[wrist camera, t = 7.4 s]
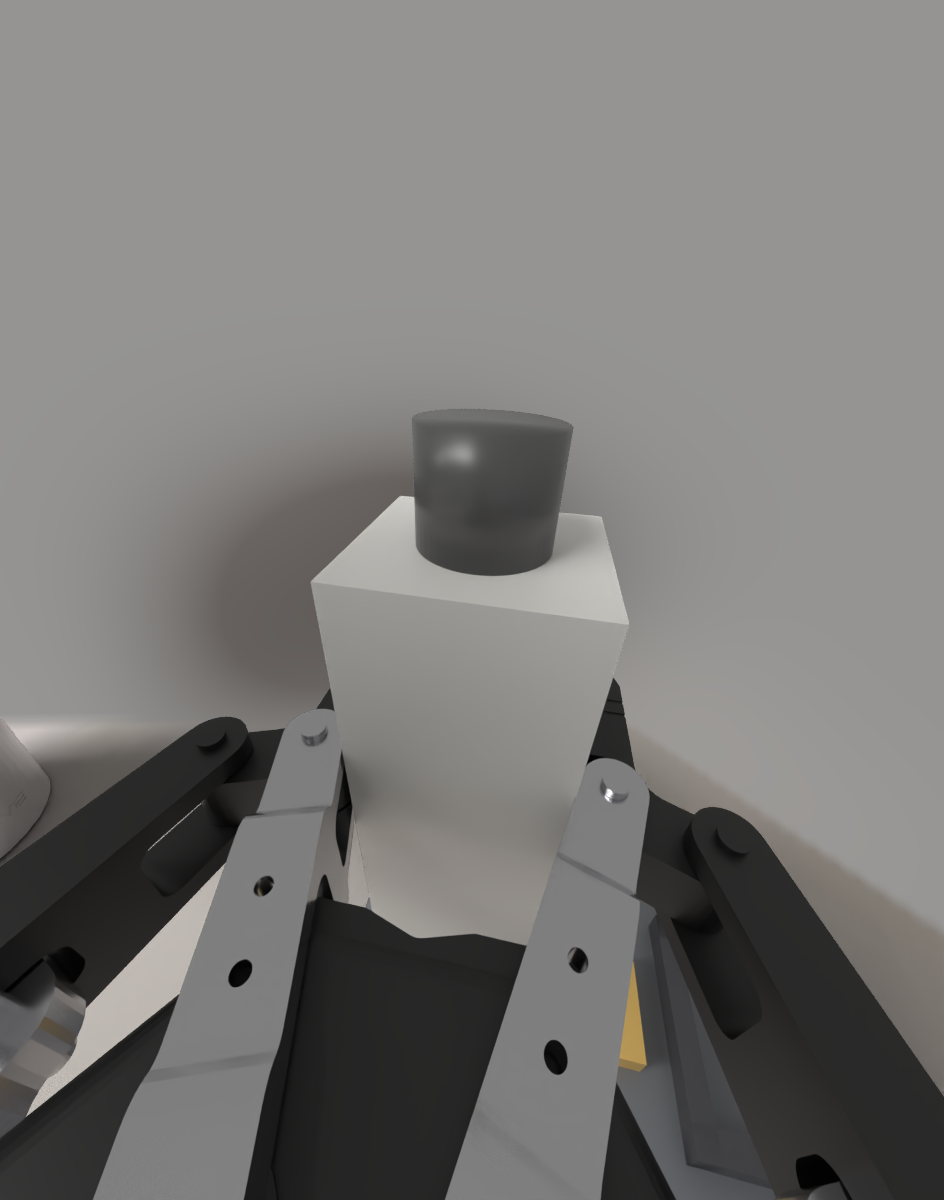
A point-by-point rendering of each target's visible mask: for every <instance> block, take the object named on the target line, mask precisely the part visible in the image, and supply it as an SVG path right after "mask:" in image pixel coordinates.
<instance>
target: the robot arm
mask: <svg viewBox="0 0 944 1200" xmlns="http://www.w3.org/2000/svg"><path fill="white" fill-rule="evenodd" d="M50 790H51V787H50V780H49V778H48V776H47V775H46V773H45V772H44V771H43V769H42V768H41V767H40V766H39V764H38V763H37V762H36V761H35V759H34V758H33V757H32V756H31V754H30V753H29V752H28V751H27V749H26V748H25V747H24V746H23V744H22V743H21V742H20V741H19V739H18V738H17V737H16V736H15V734H14V733H13V731H12V730H11V729H10V728H9V726H8V725H7V724H6V723H5V721H4V720H3V719H2V718H1V716H0V858H1V857H3V856H4V855H5V854H6V853H7V852H9V851H10V850H11V849H12V848H13V847H14V846H15V845H16V844H17V843H18V842H19V841H20V840H21V839H22V838H23V837H24V836H25V835H26V834H27V832H28V831H29V830H30V829H31V827H32V826H33V825H34V823H35V822H36V821H37V819H38V818H39V817H40V815H41V813H42V811H43V809H44V808H45V806H46V804H47V802H48V798H49V794H50ZM200 803H201V805H200V806H199V807H197V808H196V809H195V810H194V811H193V812H192V813H191V814H189V815H188V816H187V817H186V818H185V819H184V820H183V821H182V822H180V823H179V824H178V825H177V826H176V827H175V828H174V829H172V830H171V831H170V832H169V833H168V834H167V835H166V836H164V837H163V838H162V839H161V840H160V841H159V842H158V843H157V844H155V845H154V846H153V847H152V848H151V849H150V850H149V851H148V849H149V848H150V847H151V846H152V845H153V844H154V843H155V842H156V841H158V840H159V839H160V838H161V837H162V836H163V835H164V834H166V833H167V832H168V831H169V830H170V829H171V828H172V827H173V826H175V825H176V824H177V823H178V822H179V821H180V820H181V819H183V818H184V817H185V816H186V815H187V814H188V813H189V812H191V811H192V810H193V809H194V808H195V807H196V806H197V805H199V804H200ZM354 821H355V817H354V812H353V806H352V801H351V796H350V790H349V785H348V780H347V774H346V769H345V763H344V758H343V753H342V747H341V742H340V737H339V731H338V726H337V721H336V715H335V710H334V705H333V699H332V694H331V689H329V691H328V692H327V694H326V695H325V697H324V698H323V700H322V701H321V703H320V704H319V706H318V707H317V709H315V710H311V711H307V712H305V713H302V714H300V715H299V716H297V717H296V718H294V719H293V720H292V721H291V722H290V723H289V724H288V725H287V727H286V728H284V729H278V730H268V731H259V732H249V733H248V731H247V728H246V725H245V724H244V723H243V722H242V721H241V720H239V719H237V718H233V717H220V718H215V719H211V720H208V721H206V722H203V723H201V724H199V725H198V726H196V727H194V728H193V729H192V730H190V731H189V732H187V733H186V734H185V735H183V736H182V737H180V738H179V739H178V740H176V741H175V742H173V743H172V744H171V745H169V746H168V747H167V748H165V749H164V750H162V751H161V752H160V753H158V754H157V755H155V756H154V757H153V758H151V759H150V760H148V761H147V762H146V763H144V764H143V765H142V766H140V767H139V768H137V769H136V770H135V771H133V772H132V773H130V774H129V775H128V776H126V777H125V778H123V779H122V780H121V781H119V782H118V783H117V784H115V785H114V786H112V787H111V788H110V789H108V790H107V791H105V792H104V793H103V794H101V795H100V796H99V797H97V798H96V799H94V800H93V801H92V802H90V803H89V804H87V805H86V806H85V807H83V808H82V809H80V810H79V811H78V812H76V813H75V814H74V815H72V816H71V817H69V818H68V819H67V820H65V821H64V822H62V823H61V824H60V825H58V826H57V827H55V828H54V829H53V830H51V831H50V832H49V833H47V834H46V835H44V836H43V837H42V838H40V839H39V840H37V841H36V842H35V843H33V844H32V845H30V846H29V847H28V848H26V849H25V850H24V851H22V852H21V853H19V854H18V855H17V856H15V857H14V858H12V859H11V860H10V861H8V862H7V863H5V864H4V865H3V866H1V867H0V1200H676V1198H675V1196H674V1194H673V1192H672V1190H671V1188H670V1186H669V1184H668V1182H667V1180H666V1178H665V1176H664V1175H663V1173H662V1171H661V1169H660V1167H659V1165H658V1163H657V1161H656V1159H655V1157H654V1155H653V1153H652V1151H651V1149H650V1147H649V1145H648V1143H647V1141H646V1139H645V1137H644V1135H643V1133H642V1131H641V1129H640V1127H639V1125H638V1123H637V1121H636V1119H635V1117H634V1116H633V1114H632V1112H631V1110H630V1108H629V1106H628V1104H627V1102H626V1100H625V1098H624V1096H623V1094H622V1092H621V1090H620V1088H619V1086H618V1084H617V1082H616V1079H617V1072H618V1065H619V1058H620V1051H621V1043H622V1036H623V1029H624V1022H625V1014H626V1007H627V1000H628V993H629V986H630V978H631V971H632V964H633V957H634V949H635V942H636V935H637V928H638V920H639V911H640V900H642V901H643V902H645V903H647V904H648V905H650V906H652V907H654V908H655V911H656V913H657V915H658V918H659V920H660V922H661V925H662V927H663V930H664V932H665V934H666V937H667V939H668V941H669V944H670V946H671V949H672V951H673V953H674V956H675V958H676V961H677V963H678V965H679V968H680V970H681V972H682V975H683V977H684V980H685V982H686V984H687V987H688V989H689V992H690V994H691V996H692V999H693V1001H694V1003H695V1006H696V1008H697V1011H698V1013H699V1015H700V1018H701V1020H702V1023H703V1025H704V1027H705V1030H706V1032H707V1034H708V1037H709V1039H710V1042H711V1044H712V1046H713V1049H714V1051H715V1054H716V1056H717V1058H718V1061H719V1063H720V1065H721V1068H722V1070H723V1073H724V1075H725V1077H726V1080H727V1082H728V1084H729V1087H730V1089H731V1092H732V1094H733V1096H734V1099H735V1101H736V1104H737V1106H738V1108H739V1111H740V1113H741V1115H742V1118H743V1120H744V1123H745V1125H746V1127H747V1130H748V1132H749V1135H750V1137H751V1139H752V1142H753V1144H754V1146H755V1149H756V1151H757V1154H758V1156H759V1158H760V1161H761V1163H762V1166H763V1168H764V1170H765V1173H766V1175H767V1177H768V1180H769V1182H770V1185H771V1187H772V1189H773V1192H774V1194H775V1196H776V1198H775V1199H774V1200H944V1097H943V1095H942V1094H941V1092H940V1091H939V1089H938V1088H937V1087H936V1085H935V1084H934V1082H933V1081H932V1079H931V1078H930V1076H929V1075H928V1074H927V1072H926V1071H925V1069H924V1068H923V1066H922V1065H921V1064H920V1062H919V1061H918V1059H917V1058H916V1056H915V1055H914V1053H913V1052H912V1051H911V1049H910V1048H909V1046H908V1045H907V1043H906V1042H905V1041H904V1039H903V1038H902V1036H901V1035H900V1033H899V1032H898V1030H897V1029H896V1028H895V1026H894V1025H893V1023H892V1022H891V1020H890V1019H889V1018H888V1016H887V1015H886V1013H885V1012H884V1010H883V1009H882V1007H881V1006H880V1005H879V1003H878V1002H877V1000H876V999H875V997H874V996H873V995H872V993H871V992H870V990H869V989H868V987H867V986H866V985H865V983H864V982H863V980H862V979H861V977H860V976H859V974H858V973H857V972H856V970H855V969H854V967H853V966H852V964H851V963H850V962H849V960H848V959H847V957H846V956H845V954H844V953H843V951H842V950H841V949H840V947H839V946H838V944H837V943H836V941H835V940H834V939H833V937H832V936H831V934H830V933H829V931H828V930H827V928H826V927H825V926H824V924H823V923H822V921H821V920H820V918H819V917H818V916H817V914H816V913H815V911H814V910H813V908H812V907H811V906H810V904H809V903H808V901H807V900H806V898H805V897H804V895H803V894H802V893H801V891H800V890H799V888H798V887H797V885H796V884H795V883H794V881H793V880H792V878H791V877H790V875H789V874H788V872H787V871H786V870H785V868H784V867H783V865H782V864H781V862H780V861H779V860H778V858H777V857H776V855H775V854H774V852H773V851H772V849H771V848H770V847H769V845H768V844H767V842H766V841H765V839H764V838H763V837H762V835H761V834H760V833H759V832H758V831H757V830H756V829H755V828H754V827H753V826H752V825H751V824H750V823H749V822H748V821H746V820H745V819H743V818H742V817H740V816H739V815H737V814H735V813H733V812H731V811H728V810H725V809H722V808H717V807H708V808H704V809H701V810H699V811H698V812H697V813H696V814H695V815H694V814H692V813H689V812H687V811H685V810H683V809H681V808H679V807H677V806H675V805H673V804H670V803H668V802H666V801H665V800H663V799H661V798H659V797H658V796H657V795H655V794H654V793H653V792H651V791H650V790H649V789H648V788H647V785H646V783H645V781H644V780H643V778H642V777H641V776H640V775H639V774H638V773H637V772H636V770H635V767H634V763H633V758H632V752H631V747H630V741H629V736H628V730H627V725H626V719H625V717H624V708H623V705H622V697H621V691H620V687H619V685H618V684H617V682H616V681H615V679H614V678H613V679H612V683H611V686H610V689H609V692H608V696H607V699H606V702H605V705H604V709H603V712H602V715H601V718H600V722H599V725H598V728H597V731H596V735H595V738H594V741H593V744H592V748H591V751H590V754H589V757H588V761H587V764H586V767H585V770H584V774H583V777H582V780H581V783H580V787H579V790H578V793H577V796H576V797H575V798H574V801H573V805H572V808H571V811H570V814H569V817H568V820H567V823H566V826H565V830H564V833H563V836H562V839H561V842H560V845H559V848H558V851H557V854H556V857H555V860H554V863H553V866H552V869H551V872H550V875H549V878H548V882H547V885H546V888H545V891H544V894H543V897H542V900H541V903H540V906H539V910H538V913H537V916H536V919H535V922H534V925H533V928H532V931H531V935H530V938H529V941H528V944H527V946H526V945H522V944H517V943H513V942H509V941H505V940H500V939H496V938H492V937H487V936H483V935H479V934H464V935H452V936H441V937H429V938H416V937H413V936H411V935H409V934H408V933H406V932H404V931H403V930H401V929H400V928H398V927H396V926H395V925H393V924H392V923H390V922H388V921H387V920H385V919H384V918H382V917H380V916H379V915H377V914H376V913H374V912H372V911H371V910H369V909H368V908H364V907H360V906H356V905H351V904H348V873H349V863H350V855H351V846H352V838H353V829H354ZM225 862H226V864H225ZM224 864H225V867H224V870H223V872H222V875H221V878H220V881H219V884H218V886H217V889H216V892H215V895H214V898H213V901H212V903H211V906H210V909H209V912H208V915H207V918H206V920H205V923H204V926H203V929H202V932H201V935H200V937H199V940H198V943H197V946H196V949H195V952H194V954H193V957H192V960H191V963H190V966H189V969H188V971H187V974H186V977H185V980H184V983H183V985H182V988H181V991H180V994H179V995H177V996H176V997H175V998H174V999H172V1000H171V1001H170V1002H169V1003H168V1004H166V1005H165V1006H164V1007H163V1008H161V1009H160V1010H159V1011H158V1012H156V1013H155V1014H154V1015H153V1016H151V1017H150V1018H149V1019H148V1020H146V1021H145V1022H144V1023H143V1024H141V1025H140V1026H139V1027H138V1028H136V1029H135V1030H134V1031H133V1032H132V1033H130V1034H129V1035H128V1036H127V1037H125V1038H124V1039H123V1040H122V1041H120V1042H119V1043H118V1044H117V1045H115V1046H114V1047H113V1048H112V1049H110V1050H109V1051H108V1052H107V1053H105V1054H104V1055H103V1056H102V1057H100V1058H99V1059H98V1060H97V1061H95V1062H94V1063H93V1064H92V1065H90V1066H89V1067H88V1068H87V1069H85V1070H84V1071H83V1072H82V1073H80V1074H79V1075H78V1076H77V1077H75V1078H74V1079H73V1080H72V1081H71V1082H69V1083H68V1084H67V1085H66V1086H64V1087H63V1088H62V1089H61V1090H59V1091H58V1092H57V1093H56V1094H54V1095H53V1096H52V1097H51V1098H49V1099H48V1100H47V1101H46V1102H44V1103H43V1104H42V1105H41V1106H39V1107H38V1108H37V1109H36V1110H34V1111H33V1112H32V1113H31V1114H29V1115H28V1116H27V1117H26V1115H27V1113H28V1111H29V1108H30V1106H31V1104H32V1102H33V1100H34V1099H35V1097H36V1095H37V1093H38V1092H39V1090H40V1088H41V1087H42V1085H43V1084H44V1083H45V1081H46V1080H47V1078H50V1077H51V1076H53V1075H54V1074H56V1073H57V1072H58V1071H59V1070H60V1069H61V1068H62V1067H63V1066H64V1065H65V1064H66V1063H67V1062H68V1060H69V1059H70V1057H71V1056H72V1054H73V1052H74V1050H75V1047H76V1043H77V1036H78V1033H79V1031H80V1029H81V1026H82V1023H83V1020H84V1017H85V1010H86V1008H87V1006H88V1005H89V1004H90V1003H91V1002H92V1001H93V1000H94V999H95V998H96V997H97V996H98V995H99V994H100V993H101V992H102V991H103V990H104V989H105V988H106V987H107V986H108V985H109V984H110V982H111V981H112V980H113V979H114V978H115V977H116V976H117V975H118V974H119V973H120V972H121V971H122V970H123V969H124V968H125V967H126V966H127V965H128V964H129V963H130V962H131V961H132V960H133V958H134V957H135V956H136V955H137V954H138V953H139V952H140V951H141V950H142V949H143V948H144V947H145V946H146V945H147V944H148V943H149V942H150V941H151V940H152V939H153V938H154V937H155V936H156V934H157V933H158V932H159V931H160V930H161V929H162V928H163V927H164V926H165V925H166V924H167V923H168V922H169V921H170V920H171V919H172V918H173V917H174V916H175V915H176V914H177V913H178V912H179V910H180V909H181V908H182V907H183V906H184V905H185V904H186V903H187V902H188V901H189V900H190V899H191V898H192V897H193V896H194V895H195V894H196V893H197V892H198V891H199V890H200V889H201V888H202V886H203V885H204V884H205V883H206V882H207V881H208V880H209V879H210V878H211V877H212V876H213V875H214V874H215V873H216V872H217V871H218V870H219V869H220V868H221V867H222V866H223V865H224ZM639 899H640V900H639ZM25 1117H26V1118H25Z"/></svg>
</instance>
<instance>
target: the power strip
mask: <svg viewBox="0 0 944 1200" xmlns="http://www.w3.org/2000/svg"><path fill="white" fill-rule="evenodd" d="M639 900H640V899H639ZM366 908H368V909H369V910H371V911H372V908H371V903H370V897H369V899H368V902H367V905H366ZM616 1082H617V1084H618V1086H619V1088H620V1090H621V1092H622V1094H623V1096H624V1098H625V1100H626V1102H627V1104H628V1106H629V1108H630V1110H631V1112H632V1114H633V1116H634V1117H635V1119H636V1121H637V1123H638V1125H639V1127H640V1129H641V1131H642V1133H643V1135H644V1137H645V1139H646V1141H647V1143H648V1145H649V1147H650V1149H651V1151H652V1153H653V1155H654V1157H655V1159H656V1161H657V1163H658V1165H659V1167H660V1169H661V1171H662V1173H663V1175H664V1176H665V1178H666V1180H667V1182H668V1184H669V1186H670V1188H671V1190H672V1192H673V1194H674V1196H675V1198H676V1200H774V1199H775V1198H776V1196H775V1194H774V1192H773V1189H772V1187H771V1185H770V1182H769V1180H768V1177H767V1175H766V1173H765V1170H764V1168H763V1166H762V1163H761V1161H760V1158H759V1156H758V1154H757V1151H756V1149H755V1146H754V1144H753V1142H752V1139H751V1137H750V1135H749V1132H748V1130H747V1127H746V1125H745V1123H744V1120H743V1118H742V1115H741V1113H740V1111H739V1108H738V1106H737V1104H736V1101H735V1099H734V1096H733V1094H732V1092H731V1089H730V1087H729V1084H728V1082H727V1080H726V1077H725V1075H724V1073H723V1070H722V1068H721V1065H720V1063H719V1061H718V1058H717V1056H716V1054H715V1051H714V1049H713V1046H712V1044H711V1042H710V1039H709V1037H708V1034H707V1032H706V1030H705V1027H704V1025H703V1023H702V1020H701V1018H700V1015H699V1013H698V1011H697V1008H696V1006H695V1003H694V1001H693V999H692V996H691V994H690V992H689V989H688V987H687V984H686V982H685V980H684V977H683V975H682V972H681V970H680V968H679V965H678V963H677V961H676V958H675V956H674V953H673V951H672V949H671V946H670V944H669V941H668V939H667V937H666V934H665V932H664V930H663V927H662V925H661V922H660V920H659V918H658V915H657V913H656V911H655V908H654V907H652V906H650V905H648V904H647V903H645V902H643V901H642V900H640V911H639V920H638V928H637V935H636V942H635V949H634V957H633V964H632V971H631V978H630V986H629V993H628V1000H627V1007H626V1014H625V1022H624V1029H623V1036H622V1043H621V1051H620V1058H619V1065H618V1072H617V1079H616Z"/></svg>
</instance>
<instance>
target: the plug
mask: <svg viewBox="0 0 944 1200" xmlns="http://www.w3.org/2000/svg"><path fill="white" fill-rule="evenodd" d="M412 430H413V431H412V432H413V468H414V497H407V496H400V497H399V498H398V499H397V500H396V501H394V502H393V503H392V504H391V505H390V506H389V507H388V508H387V509H386V510H385V511H384V512H383V513H382V514H381V515H380V516H379V517H378V518H377V519H376V520H375V521H374V522H373V523H371V525H369V526H368V527H367V528H366V529H365V530H364V531H363V532H362V533H361V534H360V535H359V536H358V537H357V538H356V539H355V540H354V541H353V542H352V543H351V544H350V545H349V546H347V547H346V548H345V549H344V550H343V551H342V552H341V553H340V554H339V555H338V556H337V557H336V558H335V559H334V560H333V561H332V562H331V563H330V564H329V565H328V566H327V567H326V568H324V570H322V571H321V572H320V574H318V575H317V576H316V577H315V578H314V579H313V580H312V581H311V586H312V592H313V597H314V603H315V608H316V613H317V618H318V624H319V630H320V635H321V640H322V646H323V651H324V656H325V662H326V667H327V672H328V678H329V683H330V689H331V694H332V699H333V705H334V710H335V715H336V721H337V726H338V731H339V737H340V742H341V747H342V753H343V758H344V763H345V769H346V774H347V780H348V785H349V790H350V796H351V801H352V806H353V812H354V817H355V822H356V828H357V833H358V838H359V844H360V849H361V855H362V860H363V865H364V871H365V876H366V881H367V887H368V892H369V897H370V903H371V908H372V912H374V913H376V914H377V915H379V916H380V917H382V918H384V919H385V920H387V921H388V922H390V923H392V924H393V925H395V926H396V927H398V928H400V929H401V930H403V931H404V932H406V933H408V934H409V935H411V936H413V937H416V938H429V937H441V936H452V935H464V934H479V935H483V936H487V937H492V938H496V939H500V940H505V941H509V942H513V943H517V944H522V945H526V946H527V944H528V941H529V938H530V935H531V931H532V928H533V925H534V922H535V919H536V916H537V913H538V910H539V906H540V903H541V900H542V897H543V894H544V891H545V888H546V885H547V882H548V878H549V875H550V872H551V869H552V866H553V863H554V860H555V857H556V854H557V851H558V848H559V845H560V842H561V839H562V836H563V833H564V830H565V826H566V823H567V820H568V817H569V814H570V811H571V808H572V805H573V801H574V798H575V797H576V796H577V793H578V790H579V787H580V783H581V780H582V777H583V774H584V770H585V767H586V764H587V761H588V757H589V754H590V751H591V748H592V744H593V741H594V738H595V735H596V731H597V728H598V725H599V722H600V718H601V715H602V712H603V709H604V705H605V702H606V699H607V696H608V692H609V689H610V686H611V683H612V679H613V676H614V673H615V670H616V666H617V663H618V660H619V657H620V653H621V650H622V647H623V644H624V641H625V637H626V634H627V631H628V627H629V622H628V618H627V614H626V610H625V606H624V602H623V598H622V595H621V591H620V588H619V583H618V579H617V575H616V571H615V568H614V564H613V560H612V556H611V552H610V548H609V544H608V540H607V536H606V532H605V528H604V525H603V521H602V517H598V516H589V515H579V514H570V513H560V512H559V510H560V504H561V498H562V492H563V486H564V480H565V474H566V468H567V462H568V456H569V450H570V444H571V437H572V432H573V426H572V425H571V424H569V423H567V422H565V421H562V420H559V419H556V418H552V417H547V416H542V415H537V414H530V413H523V412H514V411H503V410H486V409H450V410H449V409H448V410H435V411H428V412H423V413H419V414H416V415H414V416H413V417H412Z"/></svg>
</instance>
